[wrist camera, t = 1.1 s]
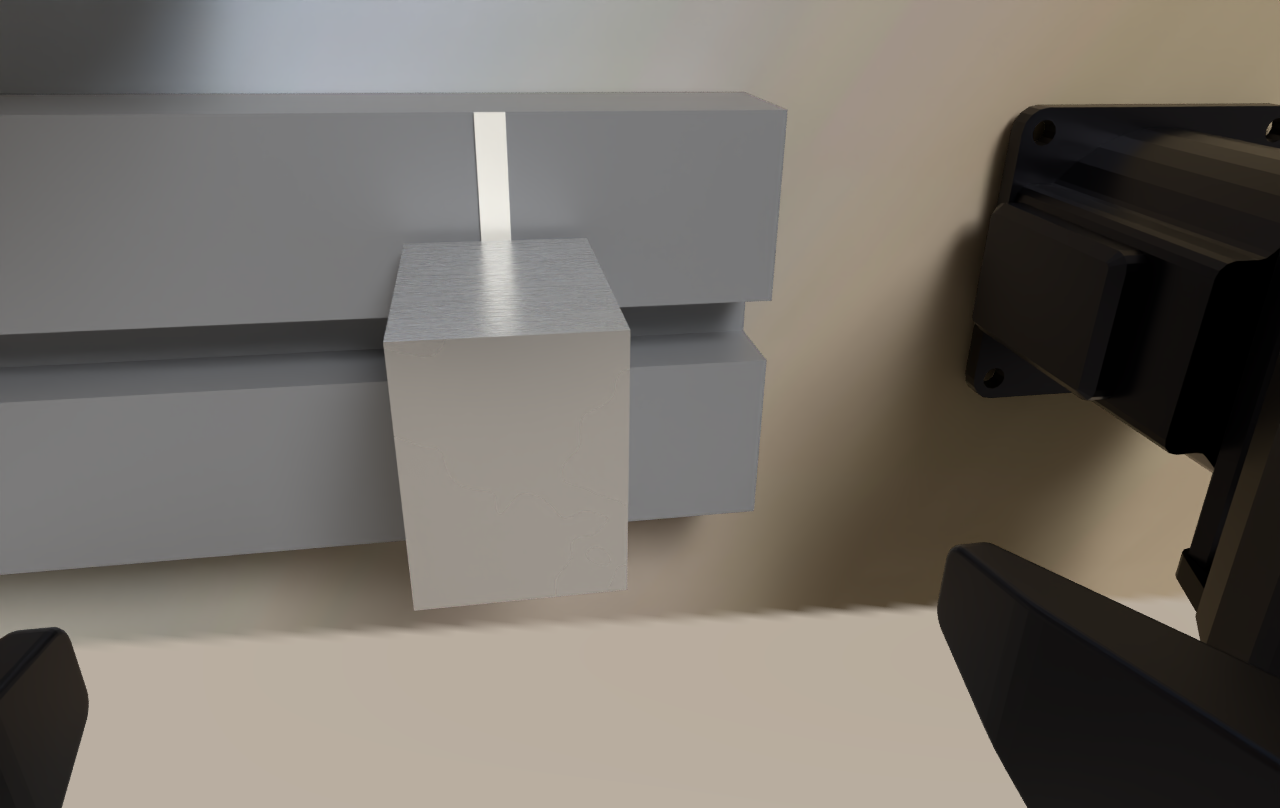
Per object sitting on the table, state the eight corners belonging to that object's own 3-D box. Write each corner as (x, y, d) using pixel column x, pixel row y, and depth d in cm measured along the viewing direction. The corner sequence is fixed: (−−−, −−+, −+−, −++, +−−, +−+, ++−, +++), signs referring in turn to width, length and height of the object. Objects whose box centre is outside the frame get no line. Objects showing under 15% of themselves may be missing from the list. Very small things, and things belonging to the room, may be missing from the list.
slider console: (744, 91, 17) (788, 110, 15) (721, 451, 21) (754, 512, 19) (-476, 96, 14) (-665, 119, 12) (-264, 523, 18) (-377, 609, 15)
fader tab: (574, 214, 17) (630, 330, 11) (578, 407, 18) (627, 589, 13) (409, 218, 16) (383, 342, 11) (428, 417, 18) (413, 610, 12)
